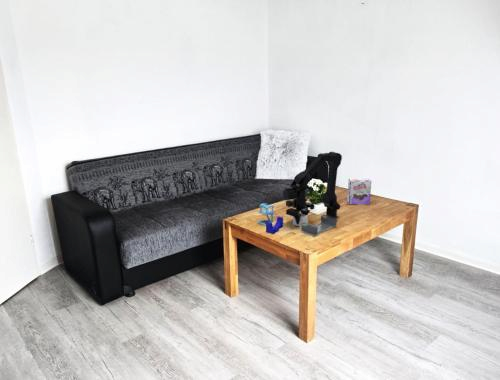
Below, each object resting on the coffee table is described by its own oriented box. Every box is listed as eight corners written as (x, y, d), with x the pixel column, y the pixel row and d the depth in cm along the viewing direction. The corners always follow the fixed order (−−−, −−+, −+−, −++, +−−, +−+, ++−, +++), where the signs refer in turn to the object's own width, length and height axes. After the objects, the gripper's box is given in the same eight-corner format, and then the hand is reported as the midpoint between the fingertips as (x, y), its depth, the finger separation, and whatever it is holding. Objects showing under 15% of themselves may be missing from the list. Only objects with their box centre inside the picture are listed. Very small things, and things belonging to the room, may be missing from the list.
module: (297, 222, 237) (297, 212, 235) (307, 225, 232) (308, 215, 230) (292, 224, 234) (292, 214, 233) (303, 227, 229) (303, 217, 227)
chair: (276, 222, 237) (276, 203, 233) (266, 226, 231) (266, 206, 228) (267, 219, 242) (267, 200, 239) (256, 223, 237) (256, 203, 234)
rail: (323, 222, 236) (323, 214, 234) (336, 226, 229) (336, 218, 228) (301, 232, 222) (301, 223, 221) (314, 236, 216) (314, 227, 215)
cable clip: (272, 234, 221) (272, 224, 219) (266, 232, 223) (266, 222, 222) (285, 227, 229) (285, 217, 228) (278, 226, 232) (278, 216, 230)
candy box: (348, 205, 265) (349, 180, 260) (346, 202, 271) (348, 178, 266) (369, 204, 265) (371, 180, 260) (367, 202, 270) (369, 178, 266)
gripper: (300, 190, 240) (299, 215, 244) (278, 197, 228) (278, 223, 232) (315, 194, 232) (314, 220, 237) (294, 202, 220) (293, 229, 224)
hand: (300, 223), depth 233 cm, fingers closed on module, 4 cm apart
